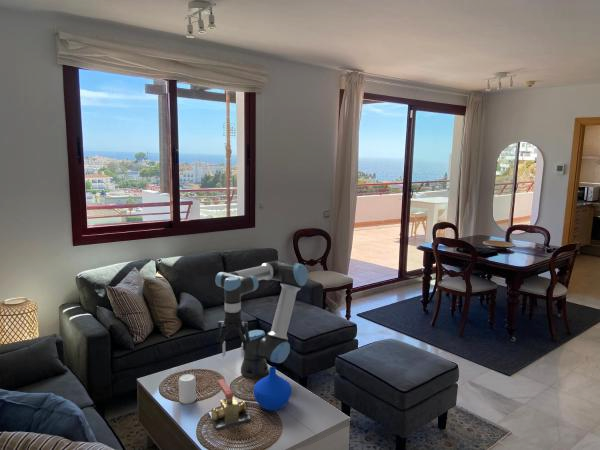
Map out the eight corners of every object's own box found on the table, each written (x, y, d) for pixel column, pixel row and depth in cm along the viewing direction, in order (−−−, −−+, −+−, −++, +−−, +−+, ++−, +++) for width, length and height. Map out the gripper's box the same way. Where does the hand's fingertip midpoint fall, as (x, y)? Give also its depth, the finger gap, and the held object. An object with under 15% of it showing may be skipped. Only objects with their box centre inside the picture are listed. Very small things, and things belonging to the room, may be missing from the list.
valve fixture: (241, 406, 215) (241, 386, 213) (250, 420, 203) (250, 399, 202) (208, 414, 208) (208, 394, 206) (216, 429, 196) (216, 408, 195)
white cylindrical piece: (191, 405, 215) (191, 382, 213) (176, 403, 216) (175, 380, 214) (198, 396, 223) (198, 374, 221) (183, 394, 224) (183, 372, 222)
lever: (234, 397, 203) (234, 393, 203) (226, 399, 201) (226, 395, 201) (224, 381, 216) (224, 378, 216) (217, 383, 215) (216, 380, 215)
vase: (248, 399, 221) (248, 363, 218) (283, 391, 228) (283, 356, 225) (260, 419, 204) (260, 380, 201) (297, 410, 211) (297, 373, 208)
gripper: (256, 308, 211) (256, 353, 215) (212, 306, 212) (213, 351, 216) (253, 313, 204) (254, 360, 208) (208, 312, 205) (209, 358, 209)
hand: (233, 355), depth 212 cm, fingers open, 8 cm apart
